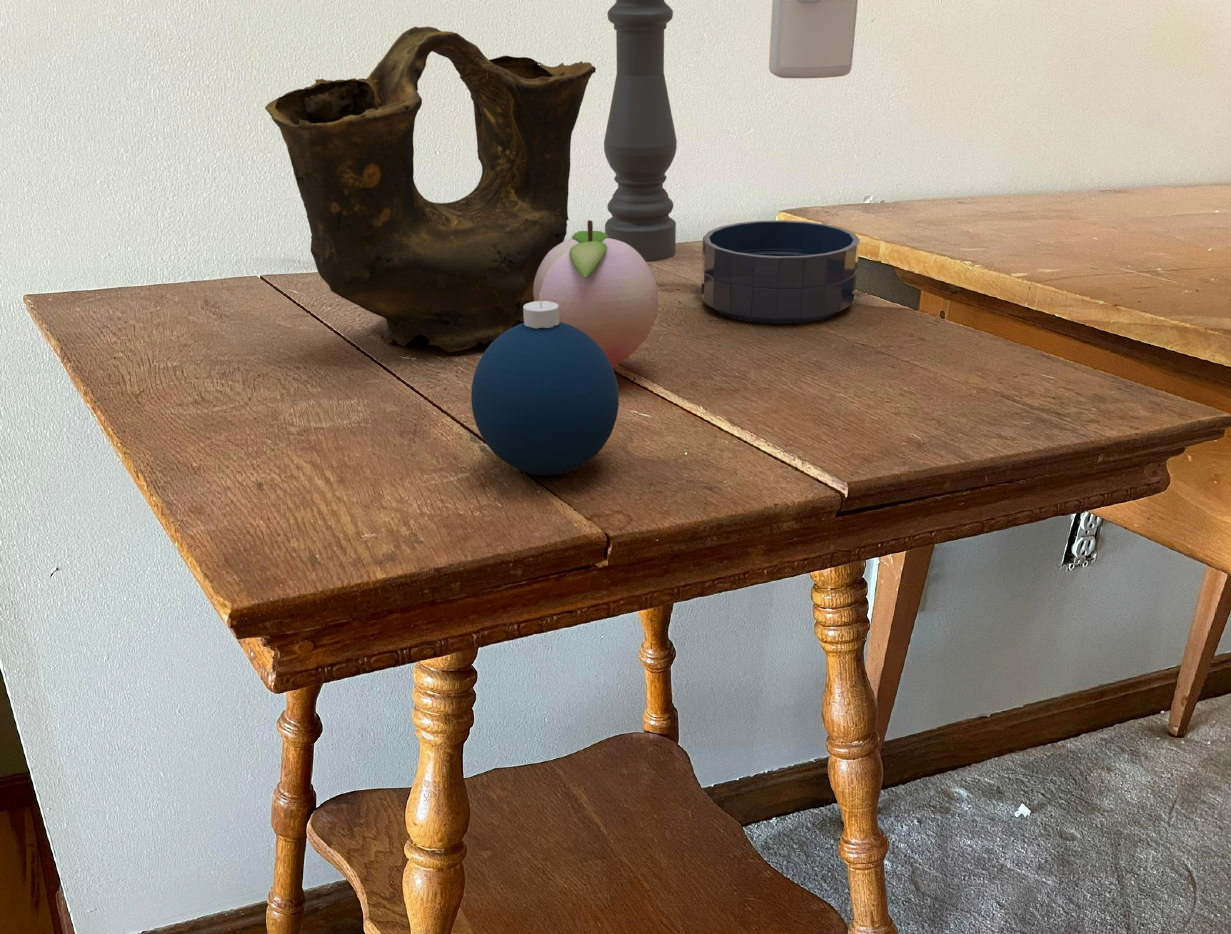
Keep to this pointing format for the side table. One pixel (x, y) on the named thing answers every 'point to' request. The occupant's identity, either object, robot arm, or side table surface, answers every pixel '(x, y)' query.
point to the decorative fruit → (600, 291)
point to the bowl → (779, 270)
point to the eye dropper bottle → (812, 38)
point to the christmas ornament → (544, 394)
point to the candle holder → (641, 131)
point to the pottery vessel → (426, 231)
